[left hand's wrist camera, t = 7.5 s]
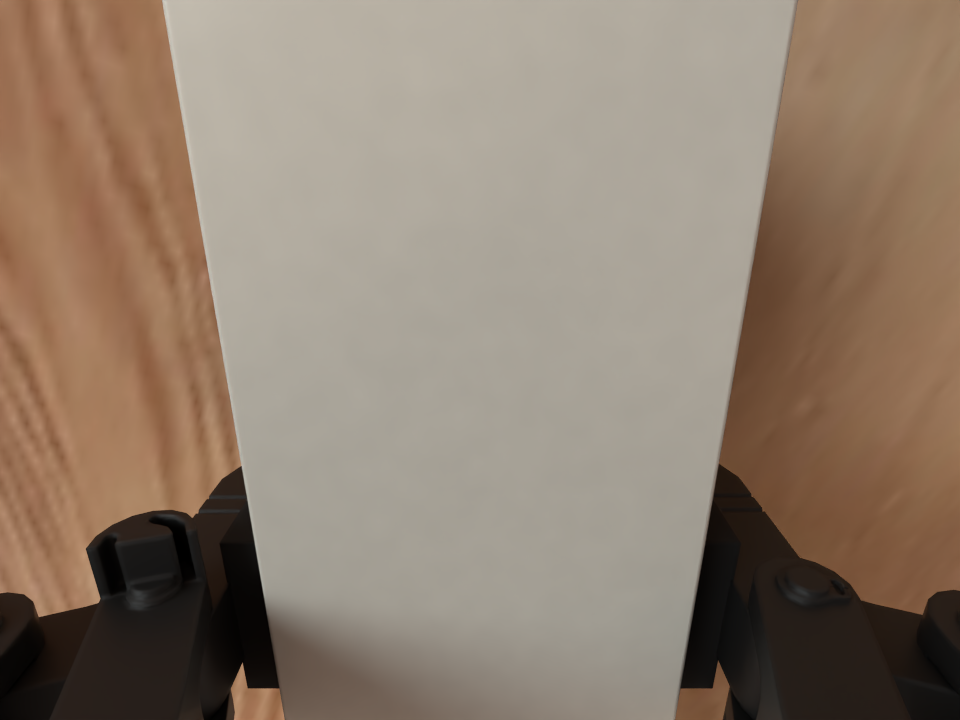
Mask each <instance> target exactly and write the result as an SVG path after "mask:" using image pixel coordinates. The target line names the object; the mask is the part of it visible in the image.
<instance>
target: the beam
mask: <svg viewBox="0 0 960 720" xmlns="http://www.w3.org/2000/svg"><path fill="white" fill-rule="evenodd" d="M162 2H163V8H164V14H165V20H166V25H167V31H168V37H169V43H170V49H171V55H172V61H173V67H174V72H175V78H176V84H177V90H178V96H179V102H180V108H181V113H182V119H183V125H184V131H185V137H186V143H187V149H188V154H189V160H190V166H191V172H192V178H193V184H194V190H195V196H196V201H197V207H198V213H199V219H200V225H201V231H202V237H203V242H204V248H205V254H206V260H207V266H208V272H209V278H210V283H211V289H212V295H213V301H214V307H215V313H216V319H217V324H218V330H219V336H220V342H221V348H222V354H223V360H224V366H225V371H226V377H227V383H228V389H229V395H230V401H231V407H232V412H233V418H234V424H235V430H236V436H237V442H238V448H239V453H240V459H241V465H242V471H243V477H244V483H245V489H246V494H247V500H248V506H249V512H250V518H251V524H252V530H253V536H254V541H255V547H256V553H257V559H258V565H259V571H260V577H261V582H262V588H263V594H264V600H265V606H266V612H267V618H268V623H269V629H270V635H271V641H272V647H273V653H274V659H275V665H276V670H277V676H278V682H279V688H280V694H281V700H282V706H283V711H284V717H285V720H675V717H676V711H677V705H678V699H679V693H680V687H681V682H682V676H683V670H684V664H685V658H686V652H687V646H688V641H689V635H690V629H691V623H692V617H693V611H694V606H695V600H696V594H697V588H698V582H699V576H700V570H701V565H702V559H703V553H704V547H705V541H706V535H707V530H708V524H709V518H710V512H711V506H712V500H713V494H714V489H715V483H716V477H717V471H718V465H719V459H720V454H721V448H722V442H723V436H724V430H725V424H726V418H727V413H728V407H729V401H730V395H731V389H732V383H733V378H734V372H735V366H736V360H737V354H738V348H739V342H740V337H741V331H742V325H743V319H744V313H745V307H746V302H747V296H748V290H749V284H750V278H751V272H752V266H753V261H754V255H755V249H756V243H757V237H758V231H759V226H760V220H761V214H762V208H763V202H764V196H765V190H766V185H767V179H768V173H769V167H770V161H771V155H772V150H773V144H774V138H775V132H776V126H777V120H778V114H779V109H780V103H781V97H782V91H783V85H784V79H785V74H786V68H787V62H788V56H789V50H790V44H791V39H792V33H793V27H794V21H795V15H796V9H797V3H798V0H162Z"/></svg>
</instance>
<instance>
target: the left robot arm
mask: <svg viewBox="0 0 960 720" xmlns="http://www.w3.org/2000/svg"><path fill="white" fill-rule="evenodd" d="M86 551H87V554H88V558H89V561H90V564H91V568H92V571H93V574H94V578H95V581H96V584H97V588H98V591H99V594H100V598H101V599H100V601H99V603H97V604H94V605H90V606H87V607H83V608H78V609H74V610H69V611H65V612H60V613H56V614H51V615H47V616H43V617H38V614H37V611H36V609H35V606H34V603H33V601H31V600H30V599H29V598H28V597H26V596H25V595H24V594H16V593H8V592H7V593H1V594H0V720H234V713H235V711H234V704H233V698H232V693H231V687H232V684H233V682H234V680H235V678H236V676H237V673H238V671H239V669H240V667H241V664H242V662H243V666H244V671H245V676H246V681H247V686H248V688H279V682H278V676H277V670H276V665H275V659H274V653H273V647H272V641H271V635H270V629H269V623H268V618H267V612H266V606H265V600H264V594H263V588H262V582H261V577H260V571H259V565H258V559H257V553H256V547H255V541H254V536H253V530H252V524H251V518H250V512H249V506H248V500H247V494H246V489H245V483H244V477H243V471H242V466H241V467H239V468H238V469H236V470H235V471H233V472H232V473H230V474H229V475H227V476H226V477H224V478H223V479H222V480H221V481H220V483H219V484H218V485H217V487H216V488H215V489H214V491H213V492H212V493H211V495H210V496H209V499H207V500H206V501H205V503H204V504H203V505H202V507H201V508H200V509H199V513H198V514H195V516H194V517H193V518H191V517H190V516H189V515H188V514H187V513H183V512H179V511H174V510H162V511H151V512H147V513H143V514H139V515H135V516H132V517H129V518H127V519H125V520H122V521H120V522H118V523H116V524H113V525H112V526H110V527H109V528H107V529H106V530H104V531H103V532H102V533H100V534H99V535H97V536H96V537H95V538H94V539H93V541H92V542H91V543H90V544H89V546H88V547H87V548H86ZM718 661H719V663H720V665H721V667H722V670H723V672H724V674H725V676H726V678H727V681H728V683H729V685H730V688H729V693H728V698H727V702H726V707H725V712H724V717H723V720H960V591H957V590H950V591H942V592H937V593H936V594H934V595H933V596H932V597H931V598H929V599H928V602H927V604H926V607H925V610H924V613H923V615H920V614H916V613H911V612H907V611H902V610H898V609H893V608H889V607H884V606H880V605H875V604H872V603H868V602H865V601H861V600H860V598H859V596H858V595H857V594H856V592H855V591H854V589H853V588H852V586H851V585H850V584H849V583H848V582H847V581H845V580H844V579H843V578H841V577H840V576H839V575H838V574H836V573H835V572H834V571H832V570H830V569H828V568H826V567H824V566H822V565H820V564H818V563H816V562H812V561H809V560H805V559H801V558H799V556H798V555H797V554H796V552H795V551H794V550H793V548H792V547H791V546H790V544H789V543H788V542H787V540H786V539H785V538H784V537H783V535H782V534H781V533H780V531H779V530H778V529H777V527H776V526H775V525H774V523H773V522H772V521H771V519H770V518H769V517H768V515H767V514H766V513H765V512H762V507H761V506H760V505H759V504H758V502H757V501H756V500H755V498H754V497H751V493H750V492H749V490H748V489H747V488H746V486H745V485H744V484H743V482H742V481H741V480H740V478H739V477H738V476H736V475H735V474H733V473H732V472H730V471H729V470H727V469H726V468H724V467H723V466H721V465H720V464H719V465H718V471H717V477H716V483H715V489H714V494H713V500H712V506H711V512H710V518H709V524H708V530H707V535H706V541H705V547H704V553H703V559H702V565H701V570H700V576H699V582H698V588H697V594H696V600H695V606H694V611H693V617H692V623H691V629H690V635H689V641H688V646H687V652H686V658H685V664H684V670H683V676H682V682H681V687H680V688H713V683H714V678H715V673H716V668H717V663H718Z"/></svg>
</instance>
